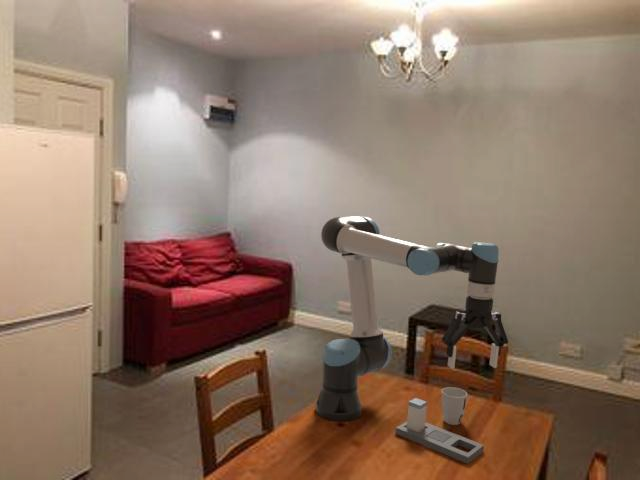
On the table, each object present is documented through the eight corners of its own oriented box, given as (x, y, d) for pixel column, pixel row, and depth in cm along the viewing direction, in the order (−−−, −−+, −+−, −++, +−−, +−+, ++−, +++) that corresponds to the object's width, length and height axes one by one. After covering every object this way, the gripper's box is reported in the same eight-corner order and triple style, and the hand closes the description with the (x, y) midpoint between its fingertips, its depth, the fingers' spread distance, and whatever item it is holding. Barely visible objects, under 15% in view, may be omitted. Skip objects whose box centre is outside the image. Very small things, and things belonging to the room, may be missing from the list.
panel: (395, 433, 169) (396, 427, 169) (412, 423, 176) (413, 417, 176) (467, 464, 153) (468, 457, 153) (483, 451, 161) (483, 445, 160)
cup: (465, 428, 175) (468, 398, 173) (439, 425, 176) (441, 395, 175) (464, 417, 182) (466, 389, 181) (439, 414, 184) (441, 385, 183)
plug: (406, 432, 170) (408, 401, 168) (413, 428, 173) (415, 397, 171) (417, 437, 167) (420, 405, 166) (424, 433, 170) (426, 401, 169)
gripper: (446, 299, 151) (438, 372, 155) (525, 300, 157) (517, 370, 160) (434, 292, 159) (427, 362, 162) (511, 293, 165) (503, 361, 168)
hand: (472, 366), depth 161 cm, fingers open, 13 cm apart
